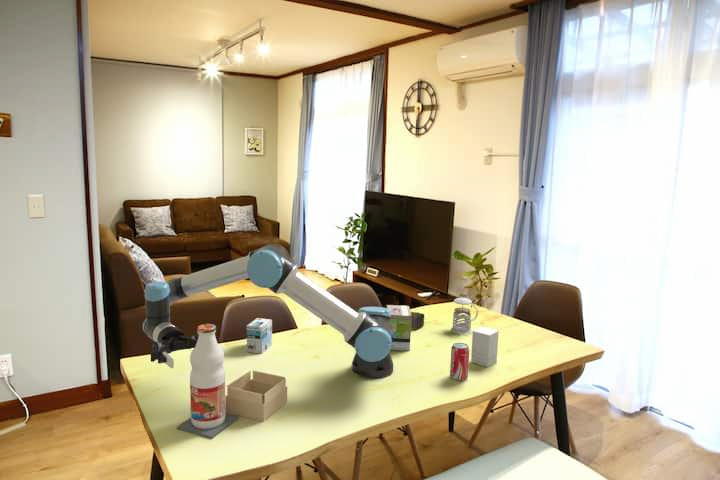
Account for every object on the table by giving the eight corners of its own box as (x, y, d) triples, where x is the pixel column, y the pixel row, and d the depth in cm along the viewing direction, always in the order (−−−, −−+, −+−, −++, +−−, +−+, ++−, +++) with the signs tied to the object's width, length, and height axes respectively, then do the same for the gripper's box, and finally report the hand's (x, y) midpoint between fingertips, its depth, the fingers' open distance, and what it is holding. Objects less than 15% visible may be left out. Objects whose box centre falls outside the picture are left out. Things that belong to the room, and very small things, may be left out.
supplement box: (497, 362, 192) (499, 330, 190) (487, 367, 187) (489, 335, 185) (480, 356, 197) (482, 325, 195) (470, 362, 192) (472, 330, 190)
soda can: (466, 382, 174) (468, 349, 172) (448, 379, 176) (450, 346, 174) (469, 375, 180) (471, 343, 178) (451, 372, 182) (453, 340, 180)
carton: (287, 401, 157) (287, 377, 155) (263, 421, 144) (263, 395, 143) (251, 393, 161) (251, 369, 160) (225, 411, 149) (225, 386, 148)
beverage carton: (388, 318, 242) (388, 305, 241) (424, 326, 233) (425, 312, 232) (380, 323, 236) (380, 309, 235) (417, 331, 226) (418, 317, 225)
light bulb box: (262, 354, 194) (262, 327, 193) (246, 352, 196) (245, 325, 194) (272, 344, 205) (272, 318, 203) (257, 342, 206) (256, 317, 204)
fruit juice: (232, 420, 143) (231, 326, 139) (203, 433, 136) (201, 334, 132) (212, 409, 149) (211, 318, 145) (184, 421, 142) (181, 326, 137)
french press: (449, 326, 233) (452, 273, 229) (475, 328, 232) (478, 275, 228) (450, 333, 223) (453, 278, 220) (477, 335, 222) (480, 280, 218)
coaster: (238, 418, 146) (238, 416, 146) (212, 438, 135) (212, 436, 135) (205, 409, 150) (205, 407, 150) (176, 428, 139) (176, 426, 139)
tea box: (410, 351, 201) (412, 315, 199) (385, 350, 202) (386, 314, 199) (407, 338, 216) (409, 304, 214) (384, 337, 217) (385, 304, 214)
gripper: (206, 340, 170) (235, 360, 154) (128, 357, 154) (151, 381, 138) (205, 319, 169) (235, 336, 153) (127, 333, 153) (151, 355, 137)
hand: (195, 358), depth 146 cm, fingers open, 13 cm apart
